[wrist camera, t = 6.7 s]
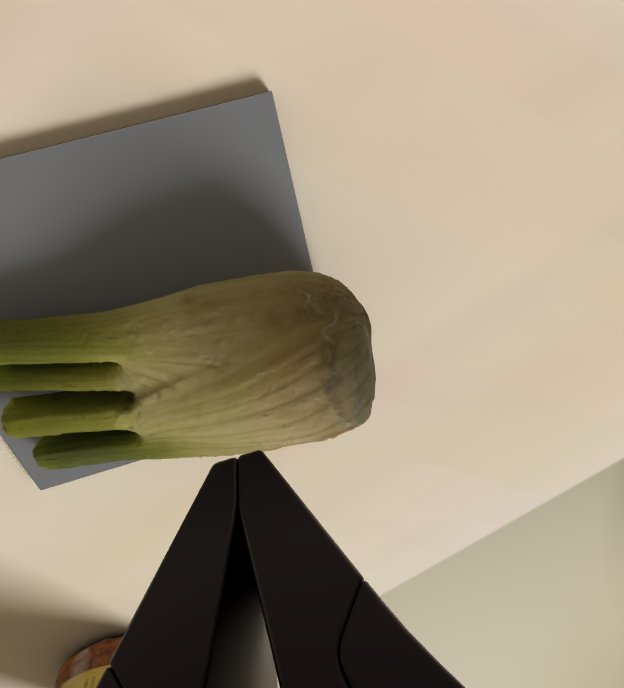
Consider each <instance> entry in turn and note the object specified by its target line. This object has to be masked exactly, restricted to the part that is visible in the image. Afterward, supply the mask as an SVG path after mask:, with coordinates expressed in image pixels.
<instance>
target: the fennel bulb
mask: <svg viewBox="0 0 624 688" xmlns="http://www.w3.org/2000/svg"><path fill="white" fill-rule="evenodd" d="M375 381H376V375H375V365H374V359H373V353H372V347H371V324H370V321H369V317H368V315H367V313H366V311H365V309H364V307H363V306H362V305H361V304H360V303H359V302H358V300H357V299H356V297H355V296H354V295H353V293H352V292H351V291H350V290H349V289H348V288H347V287H346V286H345V285H343V284H342V283H341V282H340V281H338V280H335V279H333V278H332V277H329V276H326V275H323V274H321V273H317V272H308V271H282V272H276V273H267V274H262V275H253V276H247V277H243V278H237V279H230V280H226V281H220V282H216V283H208V284H204V285H198V286H195V287H192V288H189V289H187V290H183V291H179V292H176V293H174V294H170V295H166V296H164V297H161V298H157V299H152V300H149V301H145V302H142V303H138V304H133V305H129V306H126V307H122V308H117V309H113V310H108V311H104V312H96V313H85V314H71V315H66V316H54V317H46V318H28V319H11V320H0V391H3V392H8V391H13V392H30V391H63V392H56V393H51V394H41V395H30V396H21V397H15V398H11V400H10V401H9V403H8V405H7V406H5V408H3V413H2V415H1V424H2V430H3V431H4V432H5V434H7V435H9V436H10V437H14V438H27V437H35V436H43V437H42V438H41V439H40V440H39V441H38V442H37V444H36V446H35V447H34V448H33V451H32V453H33V457H34V459H35V461H36V463H37V464H38V466H40V467H44V469H48V470H55V469H68V468H73V467H78V466H87V465H95V464H102V463H109V462H119V461H124V460H127V461H130V460H144V459H169V458H188V457H204V456H206V457H209V456H214V457H216V456H232V455H236V454H243V453H250V452H253V451H257V450H261V451H269V450H276V449H279V448H282V447H286V446H290V445H296V444H303V443H309V442H319V441H324V440H327V439H329V438H335V437H337V436H338V435H340V434H343V433H345V432H347V431H349V430H352V429H354V428H356V427H358V426H360V425H362V424H364V423H365V422H366V421H367V419H368V418H369V416H370V414H371V408H372V401H373V400H374V397H375ZM67 391H72V392H67ZM73 391H77V392H73Z"/></svg>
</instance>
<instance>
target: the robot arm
mask: <svg viewBox="0 0 624 688" xmlns="http://www.w3.org/2000/svg"><path fill="white" fill-rule="evenodd" d="M110 666H111V667H108V668H106V669H105V671H104V673H103V675H102V677H101V679H100V680H99V682H98V684H97V686H96V688H278V687H277V677H278V681H279V685H280V688H465V687H464V686H463V685H462V684H461V683H460V682H459V681H458V680H457V679H456V678H455V677H454V676H453V675H451V674H450V673H449V672H448V671H447V670H446V669H445V668H444V667H443V666H442V665H441V664H440V663H439V662H438V661H437V660H436V659H435V658H434V657H433V656H432V655H431V654H430V653H429V652H428V651H427V650H426V649H425V647H423V645H422V644H421V643H420V642H419V641H418V640H417V639H416V638H415V637H414V636H413V635H412V634H411V633H410V632H409V631H408V630H407V629H406V628H405V627H404V625H403V624H402V623H401V622H400V621H399V619H398V618H397V617H396V616H395V615H394V614H393V613H392V611H391V610H390V609H389V608H388V607H387V606H386V604H385V603H384V602H383V601H382V600H381V598H380V597H379V596H378V595H377V593H376V592H375V591H374V590H373V588H372V587H371V586H370V585H369V583H368V582H366V581H364V578H363V576H362V575H361V574H360V573H359V571H358V570H357V569H356V568H355V566H354V565H353V564H352V563H351V561H350V560H349V559H348V558H347V556H346V555H345V554H344V553H343V551H342V550H341V549H340V548H339V546H338V545H337V544H336V543H335V541H334V540H333V539H332V538H331V536H330V535H329V534H328V533H327V531H326V530H325V529H324V528H323V526H322V525H321V524H320V523H319V521H318V520H317V519H316V518H315V516H314V515H313V514H312V513H311V511H310V510H309V509H308V508H307V506H306V505H305V504H304V503H303V501H302V500H301V499H300V498H299V496H298V495H297V494H296V493H295V491H294V490H293V489H292V488H291V486H290V485H289V484H288V483H287V481H286V480H285V479H284V478H283V476H282V475H281V474H280V473H279V471H278V470H277V469H276V468H275V466H274V465H273V464H272V463H271V461H270V460H269V459H268V458H267V456H266V455H265V454H264V453H263V452H262V451H261V450H257V451H253V452H250V453H247V454H244V455H241V456H240V457H239V459H237V458H231V459H228V460H224V461H221V462H218V463H216V464H214V465H213V466H212V468H211V470H210V472H209V474H208V476H207V477H206V479H205V481H204V483H203V485H202V487H201V489H200V491H199V493H198V495H197V496H196V498H195V500H194V502H193V504H192V506H191V508H190V510H189V512H188V514H187V515H186V517H185V519H184V521H183V523H182V525H181V527H180V529H179V531H178V533H177V534H176V536H175V538H174V540H173V542H172V544H171V546H170V548H169V550H168V552H167V553H166V555H165V557H164V559H163V561H162V563H161V565H160V567H159V569H158V571H157V573H156V574H155V576H154V578H153V580H152V582H151V584H150V586H149V588H148V590H147V592H146V593H145V595H144V597H143V599H142V601H141V603H140V605H139V607H138V609H137V611H136V612H135V614H134V616H133V618H132V620H131V622H130V624H129V626H128V628H127V630H126V631H125V633H124V635H123V637H122V639H121V641H120V643H119V645H118V647H117V649H116V650H115V652H114V654H113V656H112V658H111V660H110Z"/></svg>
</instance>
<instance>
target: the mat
mask: <svg viewBox="0 0 624 688" xmlns="http://www.w3.org/2000/svg"><path fill="white" fill-rule="evenodd" d="M282 271H308V272H313V270H312V266H311V261H310V257H309V253H308V248H307V244H306V239H305V235H304V231H303V226H302V222H301V217H300V213H299V209H298V204H297V200H296V196H295V191H294V187H293V182H292V178H291V174H290V169H289V165H288V160H287V156H286V152H285V147H284V143H283V138H282V134H281V130H280V125H279V121H278V117H277V112H276V108H275V103H274V99H273V95H272V91H269V92H265V93H261V94H257V95H253V96H249V97H245V98H241V99H237V100H233V101H229V102H225V103H221V104H217V105H213V106H209V107H205V108H201V109H197V110H193V111H189V112H185V113H181V114H177V115H173V116H169V117H165V118H161V119H157V120H153V121H149V122H145V123H141V124H137V125H133V126H129V127H125V128H121V129H117V130H113V131H109V132H105V133H101V134H97V135H93V136H89V137H85V138H81V139H77V140H73V141H69V142H65V143H61V144H57V145H53V146H49V147H45V148H41V149H37V150H33V151H29V152H25V153H21V154H17V155H13V156H9V157H5V158H1V159H0V320H11V319H28V318H46V317H54V316H66V315H71V314H85V313H96V312H104V311H108V310H113V309H117V308H122V307H126V306H129V305H133V304H138V303H142V302H145V301H149V300H152V299H157V298H161V297H164V296H166V295H170V294H174V293H176V292H179V291H183V290H187V289H189V288H192V287H195V286H198V285H204V284H208V283H216V282H220V281H226V280H230V279H237V278H243V277H247V276H253V275H262V274H267V273H276V272H282ZM56 392H63V391H30V392H13V391H8V392H3V391H0V435H1V436H2V438H3V439H4V440H5V442H6V443H7V444H8V446H9V447H10V449H11V450H12V451H13V453H14V454H15V456H16V457H17V458H18V460H19V461H20V463H21V464H22V465H23V467H24V468H25V470H26V471H27V472H28V474H29V475H30V476H31V478H32V479H33V481H34V482H35V483H36V485H37V486H38V488H39V489H40V490H43V489H47V488H50V487H53V486H56V485H60V484H63V483H66V482H70V481H73V480H76V479H80V478H83V477H86V476H89V475H93V474H96V473H99V472H103V471H106V470H109V469H112V468H116V467H119V466H122V465H126V464H129V463H132V462H135V461H139V460H130V461H127V460H124V461H119V462H109V463H102V464H95V465H87V466H78V467H73V468H68V469H55V470H48V469H44V467H40V466H38V464H37V463H36V461H35V459H34V457H33V453H32V451H33V448H34V447H35V446H36V444H37V442H38V441H39V440H40V439H41V438H42V437H43V436H35V437H27V438H14V437H10V436H9V435H7V434H5V432H4V431H3V430H2V424H1V415H2V413H3V408H5V406H7V405H8V403H9V401H10V400H11V398H15V397H21V396H30V395H41V394H51V393H56ZM67 392H72V391H67ZM73 392H77V391H73Z"/></svg>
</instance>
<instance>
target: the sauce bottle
mask: <svg viewBox="0 0 624 688" xmlns="http://www.w3.org/2000/svg"><path fill="white" fill-rule="evenodd" d="M121 639H122V637H117V638H105V639H104V640H102V641H100V642H97V643H95V644H93V645H91V646H89V647H87V648H85V649H84V650H82V651H80V652H78V653H77V654H75V655H74V656H72V657H70V659H69V660H67V661H66V662H65V663H64V665H63V666H62V668H61V670H60V671H59V673H58V677H57V681H56V685H55V688H96V686H97V684H98V682H99V680H100V679H101V677H102V675H103V673H104V671H105V669H106V668H108V667H111V666H110V660H111V658H112V656H113V654H114V652H115V650H116V649H117V647H118V645H119V643H120V641H121Z"/></svg>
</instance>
